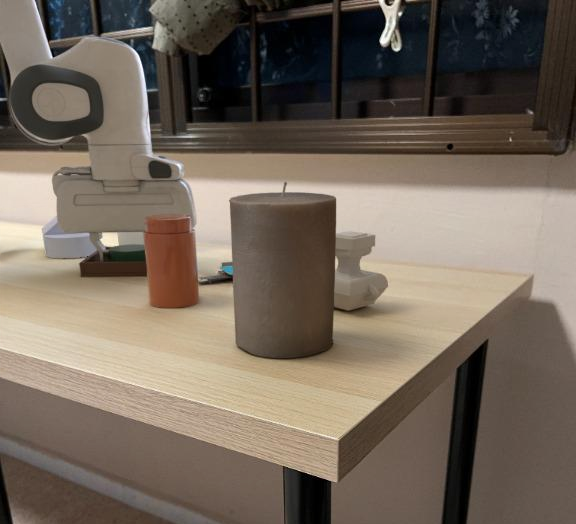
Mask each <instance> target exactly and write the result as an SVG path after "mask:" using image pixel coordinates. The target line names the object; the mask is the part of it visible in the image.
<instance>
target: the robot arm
mask: <svg viewBox="0 0 576 524" xmlns="http://www.w3.org/2000/svg"><path fill="white" fill-rule="evenodd" d="M0 46H1V50H2V52H3V56H4V58H5V62H6V64H7V67H8V73H9V79H10V80H9V81H10V83H9V95H8V96H9V97H8V105H9V112H10V114H11V118H12V121H13V122H14V124H15V126H16V127H17V128H18V130H19V131H20V132H21V133H22V134H23V135H24V137H26V138H28V139H29V140H31V141H32V142H35V143H37V144H39V145H44V146H51V147H52V146H54V147H55V146H60V145H63V144H65V143H67V142H69V141H70V140H72V138H75V137H78V136H79V137H80V136H83V137H85V139H86V140H87V148H88V155H89V163H90V166H75V167H72V166H62V167H60V169H59V170H58V169H57V170H56V171H55V172H54V173H53V174H52V177H51V184H52V190H53V193H54V195H55V197H56V216H57V222H58V227H59V228H60V229H61V230H62V231H63V232H64V233H89V236H90V241H91V242H92V244H93V245H94V246H95V248H96V249H97V250H98V251H99V254H100V261H101V262H111V261H110V255H109V253H110V251H109V249H106V248H105V247H106V246H105V245H104V243H103V242H102V240H101V239H103V236H104V235H103V233H117V232H143V231H145V230H146V225H145V217H147V216H151V215H159V214H185V215H190V216H191V217H192V219H191V228H192V229H195V228H196V225H197V223H198V221H197V210H196V204H195V199H194V194H193V190H192V188H191V186H190V184H189V183H188V181H186V180H185V179H183V177H184V176H185V173H186V171H185V170H186V169H185V165H184V163H182V162H181V161H178V160H175V159H172V158H169V157H166V156H164V155H158V154H155V153H154V152H153V145H152V144H153V143H152V138H151V139H150V136H151V135H150V136H149V133H148V129H147V118H148V112H149V111H150V110H149V101H148V90H147V83H146V78H145V73H144V68H143V63H142V61H141V58H140V55H139V53H138V52H137V51H136V50H135V49H134V48H133V47H132V46H131V45H129V44H127V43H125V42H124V41H120V40H117V39H115V38H109V37H104V36H96V35H90V36H85V37H82V38H81V40H80V41H79V42H78V43H76V44H75V45H73V46H72V47H71V48H69V49H67V50H66V51H64V52H61V54H58V55H56V56H55V57H53V54H52V51H51V47H50V45H49V42H48V38H47V35H46V32H45V29H44V26H43V22H42V19H41V16H40V13H39V10H38V6H37V2H36V0H0ZM149 113H150V112H149Z"/></svg>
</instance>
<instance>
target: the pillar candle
mask: <svg viewBox="0 0 576 524" xmlns="http://www.w3.org/2000/svg"><path fill="white" fill-rule="evenodd" d="M287 185H288V182H287V181H284V182H283V186H282V192H279V191H278V192H259V193H249V194H248V193H247V194H240V195H239V194H238V195H236V196H232V197H230V198H229V199H228V202H229V214H230V215H229V216H230V217H229V218H230V238H231V262H232V267H233V282H232V293H233V294H232V295H233V315H234V336H235V337H234V338H235V345H236V346H237V347H238V348H241V349H242V350H244V351H246V352H247V353H249V354H251V355H254V356H257V357H260V358H268V359H294V358H302V357H309V356H312V355H315V354H318V353H321V352H324V351H328V350H329V349H331V348H332V347H333V345H334V337H333V336H334V316H335V315H334V314H335V307H334V287H335V269H336V256H335V249H336V234H337V198H336V196H335V195H331V194H324V193H317V192H301V191H297V192H296V191H294V192H293V191H290V192H289V191H288V192H287V191H286V188H287Z"/></svg>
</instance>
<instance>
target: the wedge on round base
mask: <svg viewBox="0 0 576 524" xmlns="http://www.w3.org/2000/svg"><path fill="white" fill-rule="evenodd" d="M41 234H42V238H43V239H42V240H43V247H44V253H45V257H47V258H50V259H63V258H66V259H80V257H82V258H87V256H90V255H91V254H93V253H94V252H95V251H97V249H96V248H95V246H94V245H93V244H92V242H91V241H90V236H89V233H64V232H63V231H62V230H61V229H60V228H59V227H58V222H57V215H55V216H54V217H53V218H52V219H51V220H49V222H47V223H46V224H45V225H44V226H43V227H42V228H41Z"/></svg>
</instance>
